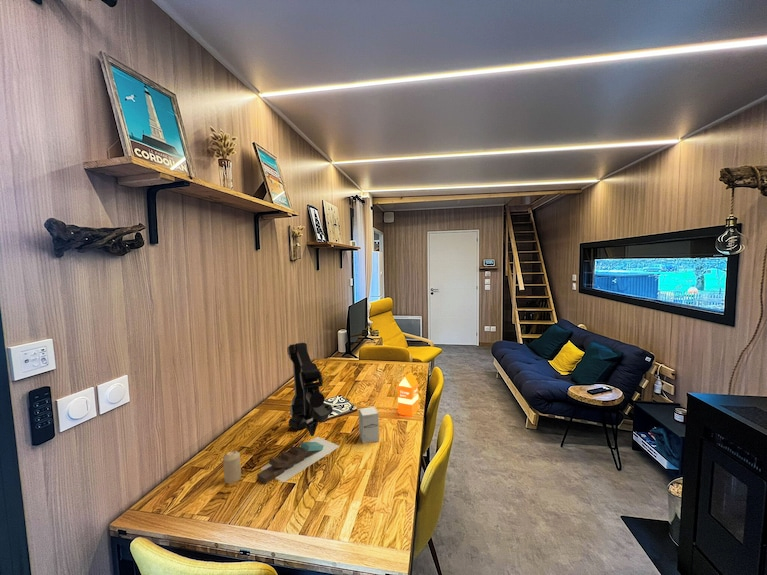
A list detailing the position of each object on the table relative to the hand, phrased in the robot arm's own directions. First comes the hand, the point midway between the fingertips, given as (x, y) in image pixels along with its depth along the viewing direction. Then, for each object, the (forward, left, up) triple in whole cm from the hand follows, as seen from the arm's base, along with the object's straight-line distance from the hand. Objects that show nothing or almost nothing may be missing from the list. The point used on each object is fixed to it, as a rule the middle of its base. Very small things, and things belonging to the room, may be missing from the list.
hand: (312, 435), depth 133 cm
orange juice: (+13, +52, -7) cm, 55 cm away
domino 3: (0, -6, -5) cm, 8 cm away
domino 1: (0, -11, -5) cm, 13 cm away
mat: (0, -6, -6) cm, 9 cm away
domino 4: (0, -2, -5) cm, 6 cm away
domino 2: (0, -16, -5) cm, 16 cm away
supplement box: (+13, +20, -7) cm, 25 cm away
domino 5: (+1, +3, -5) cm, 6 cm away
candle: (-10, -29, -7) cm, 31 cm away
